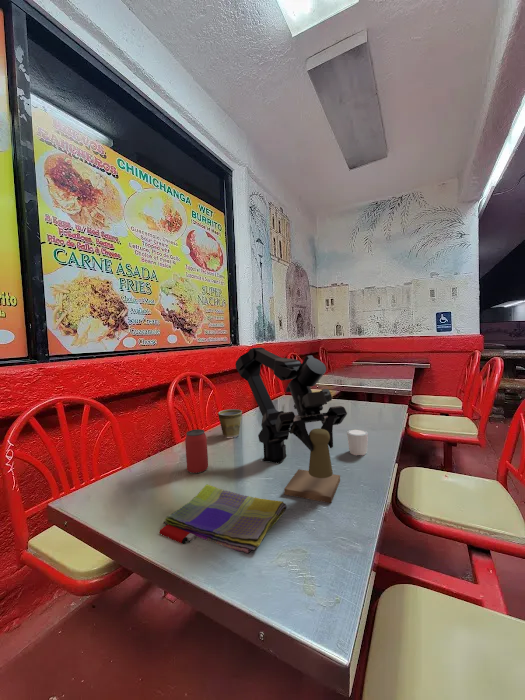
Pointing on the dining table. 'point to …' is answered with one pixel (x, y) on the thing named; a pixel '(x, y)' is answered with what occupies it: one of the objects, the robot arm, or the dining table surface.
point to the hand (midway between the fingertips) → (322, 448)
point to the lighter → (177, 534)
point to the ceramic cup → (230, 422)
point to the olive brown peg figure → (320, 454)
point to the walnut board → (312, 486)
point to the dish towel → (228, 518)
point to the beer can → (196, 451)
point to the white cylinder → (357, 441)
